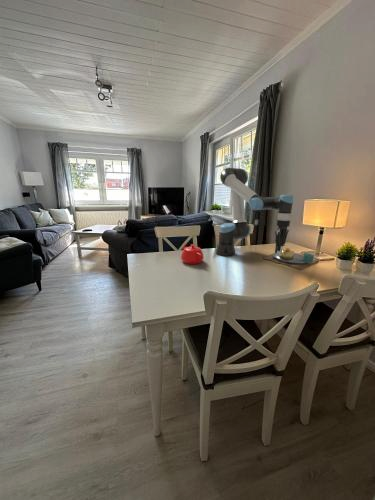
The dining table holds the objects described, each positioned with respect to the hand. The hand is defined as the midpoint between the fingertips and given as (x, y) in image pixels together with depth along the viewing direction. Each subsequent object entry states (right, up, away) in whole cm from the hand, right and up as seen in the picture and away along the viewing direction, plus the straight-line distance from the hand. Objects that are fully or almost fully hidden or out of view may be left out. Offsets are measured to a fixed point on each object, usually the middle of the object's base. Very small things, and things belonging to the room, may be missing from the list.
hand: (278, 255), depth 141 cm
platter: (+15, -3, +12) cm, 19 cm away
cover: (+9, -2, +8) cm, 12 cm away
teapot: (-58, -5, +6) cm, 59 cm away
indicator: (+9, +1, +26) cm, 28 cm away
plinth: (+14, -4, +13) cm, 19 cm away
